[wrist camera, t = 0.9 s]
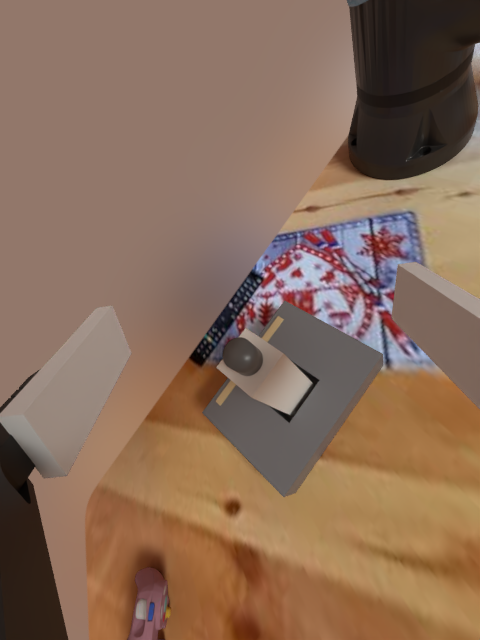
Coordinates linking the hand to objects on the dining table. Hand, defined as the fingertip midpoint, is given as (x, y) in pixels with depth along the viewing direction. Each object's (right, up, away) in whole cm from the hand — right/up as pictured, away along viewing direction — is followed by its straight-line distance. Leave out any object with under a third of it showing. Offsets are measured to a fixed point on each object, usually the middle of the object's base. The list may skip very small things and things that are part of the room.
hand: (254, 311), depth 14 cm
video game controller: (-9, -32, +17) cm, 37 cm away
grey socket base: (+6, -9, +20) cm, 23 cm away
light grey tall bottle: (+5, -9, +20) cm, 22 cm away
